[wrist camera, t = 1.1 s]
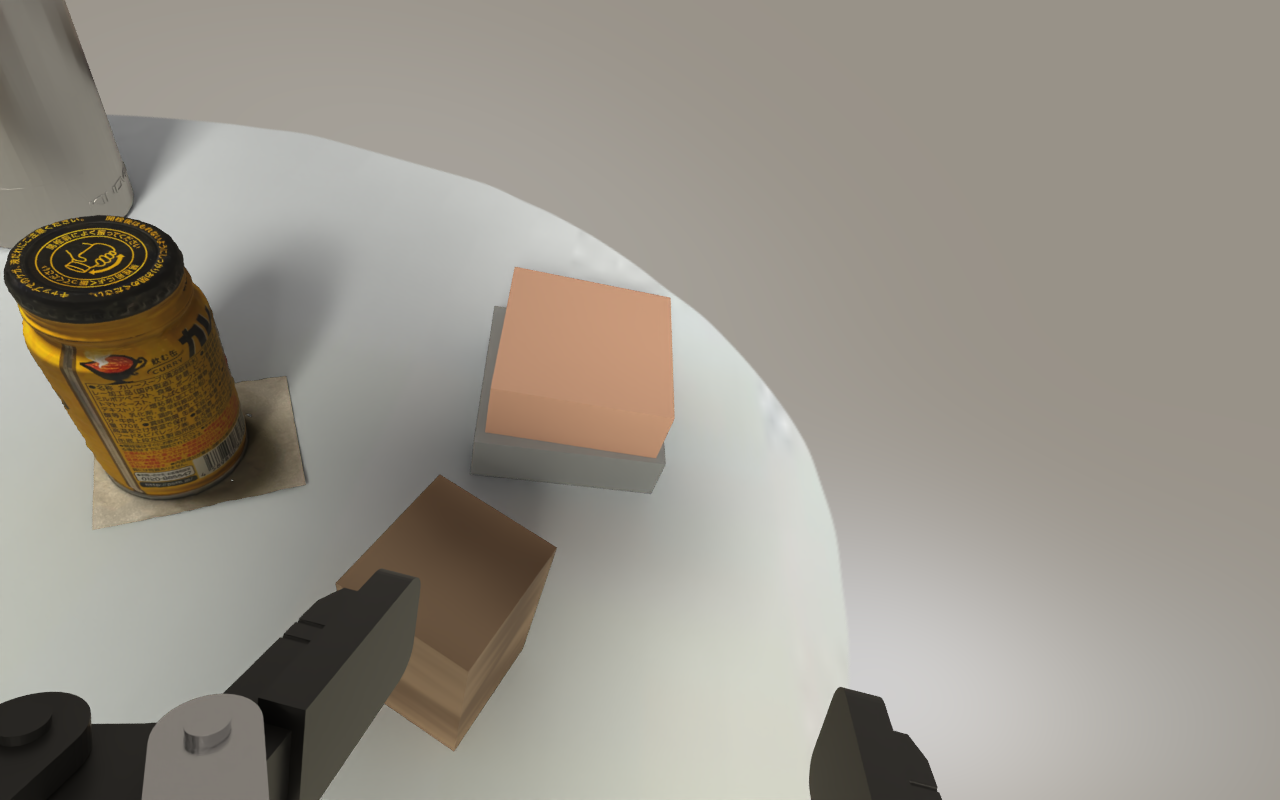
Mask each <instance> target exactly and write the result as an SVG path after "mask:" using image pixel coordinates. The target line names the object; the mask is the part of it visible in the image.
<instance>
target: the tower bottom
mask: <svg viewBox="0 0 1280 800" xmlns="http://www.w3.org/2000/svg"><path fill="white" fill-rule="evenodd" d="M506 309H507V308H504V307H498V306H495V307H494V313H493V319H492V326H491V332H490V339H489V345H488V352H487V358H486V365H485V371H484V378H483V384H482V391H481V397H480V404H479V410H478V417H477V423H476V430H475V436H474V443H473V452H472V461H471V471H470V474H473V475H482V476H492V477H501V478H510V479H519V480H529V481H538V482H547V483H556V484H566V485H575V486H584V487H593V488H603V489H612V490H621V491H630V492H640V493H649V494H651V493H652V491H653V489H654V487H655V485H656V483H657V481H658V479H659V477H660V475H661V473H662V471H663V469H664V467H665V464H666V463H665V449H664V442H663V444H662V446H661V449H660V451H659V453H658V455H657V457H656V458H649V457H643V456H636V455H630V454H623V453H617V452H610V451H604V450H597V449H591V448H584V447H578V446H571V445H565V444H558V443H552V442H545V441H539V440H532V439H526V438H519V437H513V436H506V435H500V434H493V433H487V432H485V428H486V420H487V413H488V405H489V397H490V389H491V384H492V379H493V374H494V369H495V364H496V359H497V354H498V349H499V344H500V339H501V334H502V329H503V324H504V319H505V314H506Z"/></svg>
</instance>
